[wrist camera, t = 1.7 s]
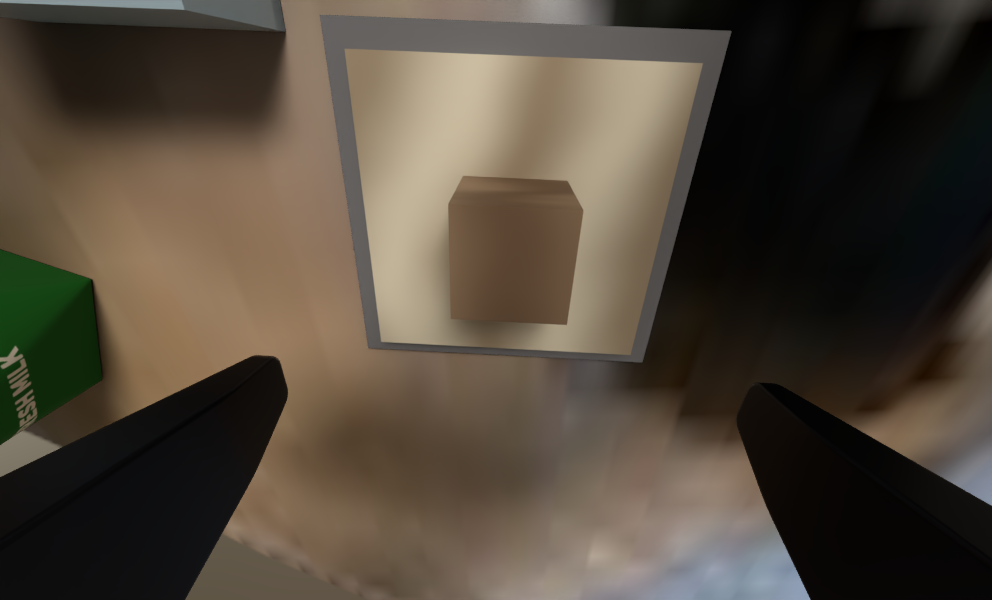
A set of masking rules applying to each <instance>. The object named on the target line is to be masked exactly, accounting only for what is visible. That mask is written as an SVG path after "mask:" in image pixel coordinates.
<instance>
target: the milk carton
mask: <svg viewBox="0 0 992 600" xmlns="http://www.w3.org/2000/svg"><path fill="white" fill-rule="evenodd" d="M101 380H102V372H101V363H100V355H99V346H98V337H97V329H96V320H95V311H94V303H93V294H92V286H91V279H89V278H86V277H83V276H80V275H77V274H74V273H71V272H67V271H64V270H61V269H58V268H55V267H52V266H49V265H46V264H43V263H40V262H37V261H34V260H31V259H28V258H25V257H22V256H19V255H15V254H12V253H9V252H6V251H3V250H0V445H1V444H2V443H4V442H5V441H7V440H9V439H10V438H12V437H13V436H15V435H16V434H18V433H19V432H21V431H23V430H24V429H26V428H27V427H29V426H30V425H32V424H34V423H35V422H37V421H38V420H40V419H41V418H43V417H45V416H46V415H48V414H49V413H51V412H52V411H54V410H56V409H57V408H59V407H60V406H62V405H63V404H65V403H67V402H68V401H70V400H71V399H73V398H74V397H76V396H77V395H79V394H81V393H82V392H84V391H85V390H87V389H88V388H90V387H92V386H93V385H95V384H96V383H98V382H100V381H101Z"/></svg>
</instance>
